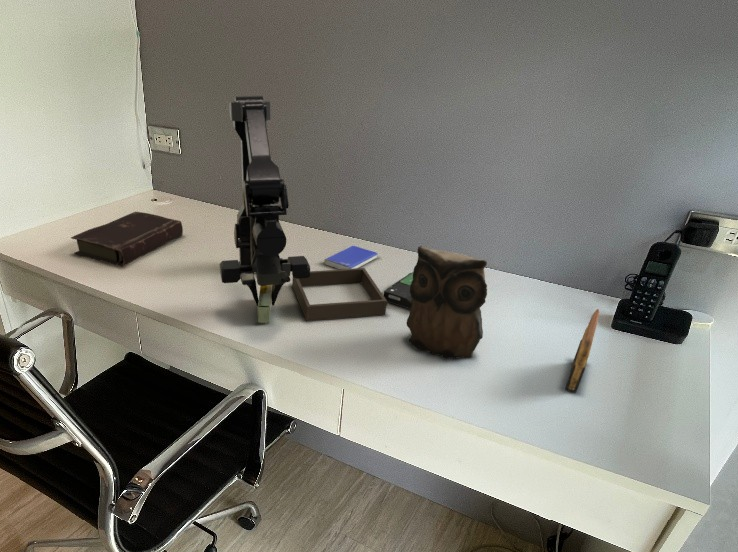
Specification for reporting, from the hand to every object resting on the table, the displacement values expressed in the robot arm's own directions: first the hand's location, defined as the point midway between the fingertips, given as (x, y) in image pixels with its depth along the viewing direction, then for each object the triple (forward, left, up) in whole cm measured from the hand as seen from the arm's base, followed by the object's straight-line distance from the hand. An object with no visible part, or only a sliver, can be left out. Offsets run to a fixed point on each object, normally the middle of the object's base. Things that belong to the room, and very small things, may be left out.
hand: (265, 305), depth 125 cm
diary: (-32, +44, -2) cm, 54 cm away
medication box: (0, 0, -1) cm, 1 cm away
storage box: (+17, +3, -1) cm, 17 cm away
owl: (+34, -19, -2) cm, 39 cm away
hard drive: (+26, +24, -2) cm, 35 cm away
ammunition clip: (+53, -34, -2) cm, 63 cm away
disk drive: (+36, +2, -2) cm, 36 cm away
